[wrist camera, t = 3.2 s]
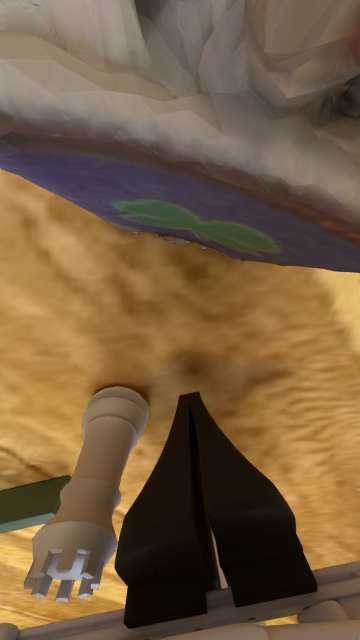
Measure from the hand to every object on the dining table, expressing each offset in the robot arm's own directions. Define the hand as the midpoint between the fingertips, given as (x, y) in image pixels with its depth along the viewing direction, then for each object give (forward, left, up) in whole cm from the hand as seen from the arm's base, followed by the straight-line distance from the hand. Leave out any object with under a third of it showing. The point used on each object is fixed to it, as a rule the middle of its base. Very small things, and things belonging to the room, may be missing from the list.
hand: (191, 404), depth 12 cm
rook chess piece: (0, +5, -2) cm, 6 cm away
